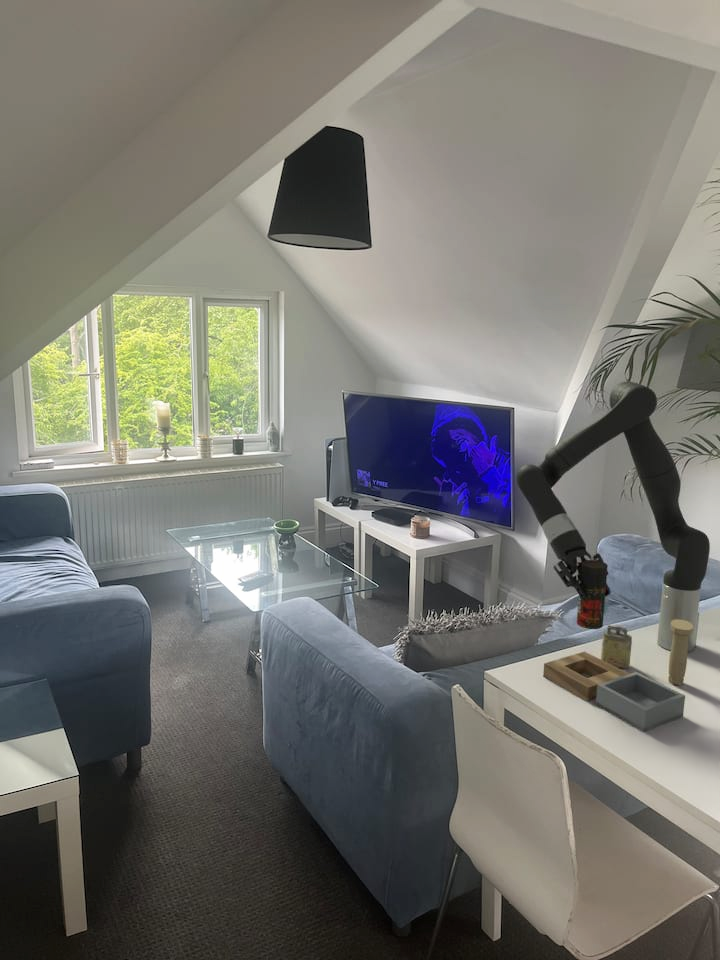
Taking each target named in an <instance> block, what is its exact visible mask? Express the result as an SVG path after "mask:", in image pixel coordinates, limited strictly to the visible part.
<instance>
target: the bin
mask: <svg viewBox="0 0 720 960" xmlns="http://www.w3.org/2000/svg"><path fill="white" fill-rule="evenodd" d="M685 701H686V695H685V694H683V693H681V692H678V691H677V690H675V689H673V688H671V687H669V686H666V685H664V684H662V683H660V682H658V681H656V680H654V679H652V678H651V677H647V676H646V675H644V674H641V673H640V672H637V671H634V672H632V673H631V672H630V673H629V674H628V675H625V676H622V677H619V678H616V679H613V680H610V681H607V682H604V683H601V684H598V685H597V696H596V699H595V706H597V707H598V708H600V709H602V710H604V711H606V712H608V713H609V714H611V715H613V716H615V717H616V718H618V719H620V720H621V721H624V722H625V723H627V724H629V725H631V726H632V727H634V728H636V729H637V730H640V731H641V732H643V733H645V732H647V731H650V730H652V729H655V728H658V727H659V726H662V725H666V724H667V723H670V722H672V721H676V720H677V719H680V718H682V717H684V712H685V711H684V710H685V704H686V703H685Z"/></svg>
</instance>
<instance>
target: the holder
mask: <svg viewBox="0 0 720 960" xmlns="http://www.w3.org/2000/svg"><path fill="white" fill-rule="evenodd" d="M583 673H585V674H587V675H588V676H590V677H587V676H584V675H582V674H583ZM628 674H630V673H629V672H628V671H625V670H623V669H621V668H620V667H615V666H613V665H611V664H609V663H607V662H605V661H603V660H601V658H599V657H597V656H595V655H593V654H591V653H589V652H586V651H581V652H578V653H575V654H571V655H568V656H565V657H560V658H558V659H555V660H552V661H548V662H545V663H543V675H542V676H543V677H544V678H545V679H546V680H549V681H550V682H552V683H554V684H555V685H557V686H559V687H560V688H563V689H565V690H566V691H567V692H569V693H572V694H573V695H574V696H577V697H579V698H580V699H582V700H584V701H586V702H589V701H593V700H596V696H597V685H598V684H601V683H604V682H607V681H610V680H613V679H616V678H619V677H622V676H625V675H628Z"/></svg>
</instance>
